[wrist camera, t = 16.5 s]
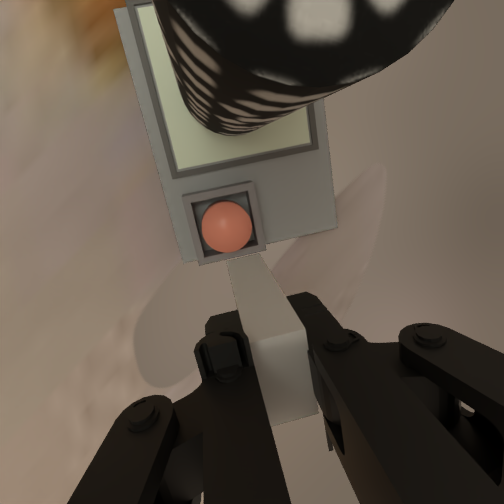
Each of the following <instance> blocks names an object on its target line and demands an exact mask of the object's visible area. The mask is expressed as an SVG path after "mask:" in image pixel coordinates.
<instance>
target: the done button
mask: <svg viewBox="0 0 504 504" xmlns="http://www.w3.org/2000/svg"><path fill="white" fill-rule="evenodd" d="M251 233H252V223H251V220H250V217H249V215H248V214H247V213H246V211H245V210H244V209H243V208H242V207H241V206H240V205H239V204H238V203H236V202H234V201H231V200H219V201H216V202H214V203H212V204H211V205H209V206H208V207H207V209H206V210H205V212H204V214H203V216H202V234H203V237H204V239H205V241H206V243H207V244H208V245H209V246H210V247H211V248H213V249H214V250H216V251H219V252H224V253H230V252H234V251H237V250H239V249H241V248H242V247H243V246H244V245H245V244H246V243H247V242H248V240H249V238H250V236H251Z"/></svg>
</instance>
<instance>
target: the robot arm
mask: <svg viewBox="0 0 504 504" xmlns="http://www.w3.org/2000/svg"><path fill="white" fill-rule="evenodd" d="M227 266H228V271H229V275H230V280H231V284H232V288H233V293H234V297H235V301H236V306H237V310H235V311H231V312H227V313H223V314H219V315H215V316H211V317H210V318H209V320H208V321H207V323H206V325H205V334H206V336H205V337H203V338H202V339H201V340H200V341H199V342H198V343H197V344H196V346H195V349H194V354H195V357H196V361H197V364H198V368H199V371H200V375H201V378H202V383H201V385H200V386H199V387H198V388H197V389H196V390H194V391H193V392H192V393H190V394H189V395H187V396H186V397H184V398H182V399H180V400H178V401H176V402H174V403H172V402H171V399H169V398H167V397H166V396H164V395H152V396H148V397H144V398H142V399H140V400H138V401H136V402H134V403H132V404H131V405H130V406H128V407H127V408H126V409H125V410H123V411H122V413H121V414H120V415H119V416H118V418H117V419H116V420H115V422H114V424H113V426H112V427H111V429H110V431H109V432H108V434H107V436H106V438H105V439H104V441H103V443H102V444H101V446H100V448H99V450H98V451H97V453H96V455H95V456H94V458H93V460H92V462H91V463H90V465H89V467H88V468H87V470H86V472H85V474H84V475H83V477H82V479H81V480H80V482H79V484H78V486H77V487H76V489H75V491H74V492H73V494H72V496H71V498H70V499H69V501H68V503H67V504H200V502H201V493H202V492H203V491H204V504H291V501H290V497H289V493H288V490H287V486H286V482H285V478H284V475H283V471H282V467H281V464H280V460H279V456H278V452H277V448H276V445H275V441H274V437H273V434H272V429H271V427H273V426H276V425H280V424H283V423H287V422H290V421H294V420H297V419H300V418H304V417H308V416H311V415H315V414H318V413H319V412H318V405H317V401H318V403H319V405H320V407H321V410H322V411H323V417H324V424H325V430H326V437H327V443H328V447H329V451H332V450H333V446H334V448H335V450H336V453H337V455H338V457H339V459H340V461H341V464H342V466H343V468H344V470H345V472H346V474H347V477H348V479H349V481H350V483H351V485H352V488H353V490H354V492H355V494H356V496H357V498H358V501H359V503H360V504H504V354H503V353H501V352H499V351H497V350H494V349H492V348H490V347H488V346H486V345H484V344H481V343H479V342H477V341H475V340H473V339H471V338H469V337H467V336H464V335H462V334H460V333H458V332H456V331H454V330H451V329H450V328H447V327H444V326H441V325H438V324H431V323H418V324H417V323H416V324H412V325H409V326H406V327H405V328H403V329H402V330H401V331H400V334H399V336H398V337H399V342H390V343H370V342H367V341H366V339H365V338H364V337H363V336H361V335H360V334H359V333H357V332H355V331H352V330H349V329H343V328H342V326H341V325H340V324H339V323H338V322H337V320H336V319H335V318H334V317H333V316H332V314H331V313H330V312H329V311H327V308H326V307H325V306H324V305H323V304H322V302H321V301H320V300H319V299H318V298H317V296H315V295H312V294H310V293H308V292H303V293H299V294H295V295H291V296H287V297H286V296H285V295H284V293H283V291H282V290H281V288H280V287H279V285H278V283H277V282H276V280H275V278H274V277H273V275H272V273H271V272H270V270H269V269H268V267H267V265H266V264H265V262H264V260H263V259H262V257H261V256H260V254H255V255H251V256H246V257H242V258H237V259H234V260H229V261H227ZM461 401H462V402H463V403H465V404H466V405H468V406H470V407H471V408H473V409H474V410H475V412H474V413H473V412H470V411H468V410H466V409H465V408H463V407H462V406H461ZM332 444H333V445H332Z"/></svg>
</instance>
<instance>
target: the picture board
mask: <svg viewBox="0 0 504 504" xmlns="http://www.w3.org/2000/svg"><path fill="white" fill-rule="evenodd" d="M125 2H126V6H127V7H124V8H118V9H113V10H114V14H115V18H116V21H117V25H118V29H119V32H120V36H121V39H122V43H123V47H124V50H125V54H126V58H127V61H128V65H129V68H130V72H131V76H132V79H133V83H134V86H135V90H136V94H137V97H138V101H139V105H140V108H141V112H142V115H143V119H144V123H145V126H146V130H147V134H148V137H149V141H150V144H151V148H152V152H153V155H154V159H155V163H156V166H157V170H158V173H159V177H160V181H161V184H162V188H163V192H164V195H165V199H166V202H167V206H168V210H169V213H170V217H171V220H172V224H173V228H174V231H175V235H176V239H177V242H178V246H179V249H180V253H181V257H182V260H183V263H187V262H192V261H196V260H198V263H199V266H200V265H204V264H209V263H213V262H217V261H221V260H226V259H230V258H234V257H239V256H243V255H247V254H251V253H256V252H260V251H264V250H266V245H265V244H270V243H274V242H278V241H282V240H287V239H291V238H295V237H300V236H304V235H308V234H313V233H317V232H321V231H326V230H330V229H334V228H338V225H337V216H336V206H335V197H334V189H333V179H332V171H331V161H330V152H329V143H328V133H327V124H326V115H325V106H324V98H323V99H320V100H318V101H316V102H314V103H312V104H310V105H308V106H306V107H303V108H301V109H299V110H297V111H295V112H293V113H291V114H289V115H286V116H284V117H282V118H280V119H278V120H276V121H274V122H272V123H269V124H267V125H265V126H263V127H261V128H259V129H257V130H254V131H252V132H250V133H247V134H244V135H238V136H225V135H221V134H217V133H214V132H212V131H210V130H208V129H206V128H205V127H204V126H202V125H201V124H200V123H198V122H197V121H196V119H195V118H194V117H193V116H192V115H191V114H190V112H189V111H188V109H187V107H186V106H185V104H184V102H183V99H182V97H181V94H180V91H179V88H178V84H177V81H176V78H175V75H174V71H173V68H172V65H171V62H170V58H169V55H168V52H167V49H166V45H165V42H164V39H163V36H162V32H161V29H160V26H159V23H158V19H157V16H156V13H155V10H154V6H153V3H152V0H125ZM219 200H231V201H234V202H236V203H238V204H239V205H240V206H241V207H242V208H243V209H244V210H245V211H246V213H247V214H248V215H249V217H250V220H251V223H252V233H251V236H250V238H249V240H248V242H247V243H246V244H245V245H244V246H243V247H242V248H241V249H239V250H237V251H234V252H230V253H224V252H219V251H216V250H214V249H213V248H211V247H210V246H209V245H208V244H207V243H206V241H205V239H204V237H203V234H202V216H203V214H204V212H205V210H206V209H207V207H208V206H209V205H211V204H212V203H214V202H216V201H219Z"/></svg>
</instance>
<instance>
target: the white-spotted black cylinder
mask: <svg viewBox="0 0 504 504" xmlns="http://www.w3.org/2000/svg"><path fill="white" fill-rule="evenodd" d="M453 1H454V0H152V3H153V6H154V10H155V13H156V16H157V19H158V23H159V26H160V29H161V32H162V36H163V39H164V42H165V45H166V49H167V52H168V55H169V58H170V62H171V65H172V68H173V71H174V75H175V78H176V81H177V84H178V88H179V91H180V94H181V97H182V99H183V102H184V104H185V106H186V107H187V109H188V111H189V112H190V114H191V115H192V116H193V117H194V118H195V119H196V121H197V122H198V123H200V124H201V125H202V126H204V127H205V128H206V129H208V130H210V131H212V132H214V133H217V134H221V135H225V136H238V135H244V134H247V133H250V132H252V131H254V130H257V129H259V128H261V127H263V126H265V125H267V124H269V123H272V122H274V121H276V120H278V119H280V118H282V117H284V116H286V115H289V114H291V113H293V112H295V111H297V110H299V109H301V108H303V107H306V106H308V105H310V104H312V103H314V102H316V101H318V100H320V99H323V98H325V97H327V96H329V95H331V94H333V93H335V92H337V91H340V90H342V89H344V88H346V87H348V86H350V85H352V84H355V83H356V82H359V81H361V80H363V79H365V78H367V77H369V76H371V75H374V74H376V73H378V72H380V71H382V70H383V69H384V68H386V67H388V66H389V65H391V64H392V63H394V62H396V61H397V60H398V59H400V58H402V57H403V56H405V55H406V54H408V53H409V52H410V51H411V50H412V49H413V48H414V47H415V46H416V45H417V44H418V43H419V42H420V41H421V40H422V39H423V38H424V37H426V35H428V34H429V32H430V31H432V30H433V29H434V27H435V26H436V25H437V23H438V22H439V21H440V19H441V18H442V16H443V15H444V14H445V12H446V11H447V10H448V8H449V7H450V6H451V4H452V3H453Z"/></svg>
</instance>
